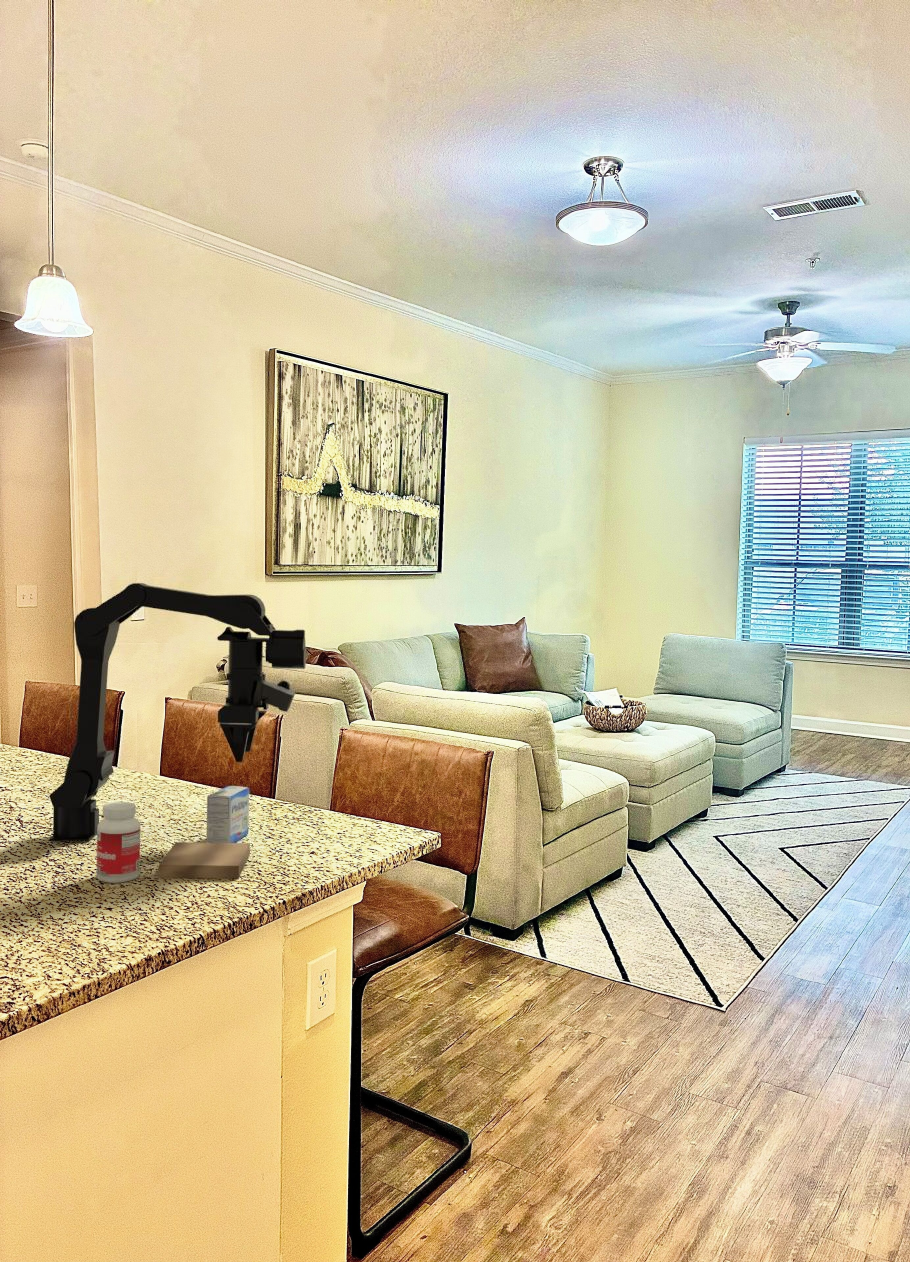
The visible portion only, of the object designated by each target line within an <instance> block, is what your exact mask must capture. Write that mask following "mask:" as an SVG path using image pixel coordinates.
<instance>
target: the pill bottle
mask: <svg viewBox="0 0 910 1262" xmlns="http://www.w3.org/2000/svg"><path fill="white" fill-rule="evenodd" d="M136 807H137V806H136V804H135V803H132V802H129V801H115V802H107V803H106V804H103V806H102V816H103V817H104V818H102V819H101V820H99V824H98V827H97V834H96V877H97V880H99V881H101V882H104V883H108V884H118V883H127V882H130V881H133V880H135V879H137V878H138V877H139V876H140V865H141V863H140V862H141V859H140V858H141V855H140V854H141V822H140V820H139V819H137V817H135V815H136V813H137V809H136Z"/></svg>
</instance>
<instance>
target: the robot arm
mask: <svg viewBox="0 0 910 1262" xmlns="http://www.w3.org/2000/svg"><path fill="white" fill-rule="evenodd" d="M141 608H151V609H155V610H156V609H157V610H163V611H169V612H176V613H182V614H188V615H195V616H202V617H208V618H210V619H213V620H215V621H218V622H221V623H223V624H226V625H229V626H227V627H225V629H224V631H223V632H222V633H221V634H220V635H218V636H217V638H216V639H217V640H218V641H219V642H228V673H226V675H225V676H226V677H225V678H226V679H225V680H226V681H227V683H228V684H227V697H225V704H224V705H223V706H222V707H221V708H219V709H218V710H217V723H218V724H219V726H220V728H221V730H222V733H223V735H224V737H225V739H226V742H227V743H228V746H229V748H230V751H231V753H232V754H233V757H234V760H235V762H236V763H242V762H244V758H245V753H247V752H248V753H250V752H251V751H252V745H253V741H254V738H255V734H256V729H257V725H258V723H259V720H261V718H263V716H265V715H266V713H267V712H268V711H267V710H268V709H269V706H273V707H274V708H277V709H278V710H279V711H282V712H286V713H288V711H289V709H290V708H291V705H292V703H293V700H294V697H295V695H296V691H294V690H292V689H291V683H290V682H289V681H286V680H284V679H282V680H280V681H279V682H278V683H277V684H276V683H275V682H270V681H267V680H266V673H264V671H263V657H264V655H265V662H266V663H268V664H271V668H272V669H292V670H293V669H295V670H299V669H301V670H304V669H306V665H307V664H306V662H307V650H308V649H307V647H306V630H305V629H294V630H293V629H292V630H291V629H290V630H288V629H287V630H285V629H276V628H275V626H274V624H273V623H272V622H271V621H270V619H269V618H268V617H267V615H266V606H265V604H264V602H263V600H262V599H261V598H260V597H259V596H257V595H254V594H220V595H219V594H218V595H216V594H215V595H214V594H206V593H199V592H193V591H187V590H181V589H175V588H167V587H161V586H160V587H159V586H154V585H149V584H146V583H143V582H135V583H134V582H133V583H130V584H128V585H127V586H126V587H125V588H124V589H123V590H121V591H120V592H119V593H117V594H115V595H113V596H111V597H110V598H109V599H107V600H106V601H104V602H101V604H99V605H98V606H96V607H90V608H85V609H83V610H82V611H80V612H79V613H78V614H77V615H76V616H75V619H74V622H73V626H74V628H73V629H74V635H75V637H74V638H75V643H76V644H75V645H76V647H77V650H78V653H79V657H80V677H79V690H78V691H79V693H78V706H77V707H78V709H77V724H76V725H77V726H76V737H75V738H76V739H75V744H74V747H73V748H72V751H71V754H70V755H69V759H68V761H67V765H66V769H65V774H64V778H63V782H62V783H61V784H60V785H59V786H58V787H57V788H56V789H55V790H54V791H53V792H51V793H50V794H49V798H50V803H51V804H52V807H53V812H52V813H53V815H52V816H53V817H52V818H53V820H52V823H53V824H52V825H53V827H52V830H53V831H52V835H51V836H50V837H49V841H50V842H89V841H91V840H92V839H93V838H94V836H97V827H98V824H99V822H100V809H99V807H98V808H97V799H95V798H94V797H96V796H97V794H98V792H99V789H101V788H102V787H103V786H104V785H105V784H106V783H107V782H108V781H109V779H110V776H111V775H112V774H114V771H115V770H114V767H113V761H114V755H115V750H112V749H111V750H107V748H106V746H105V742H104V731H105V719H106V717H105V716H106V715H105V714H106V705H107V704H106V702H107V700H106V699H107V687H108V673H109V672H108V671H109V662H110V657H111V655H112V653H113V650H114V648H115V645H116V642H117V638H118V633H119V631H120V626H121V624H122V623H124V622H125V621H126V620H128V619H129V618H130V617H131V616H133V615H134V614H136V612H137V611H138V610H140V609H141ZM231 626H232V627H235V628H238V629H242V631H241V630H238V631H237V630H234V629H232V627H231ZM248 629H249V630H250V631H243V630H248ZM251 632H253V633H255V634H256V635H257V636H262V637H255V636H254V637H253V636H252V634H251ZM263 636H264V637H263ZM266 636H267V637H266ZM264 643H265V652H264ZM264 653H265V654H264ZM260 708H261V710H260Z"/></svg>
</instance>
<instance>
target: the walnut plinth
mask: <svg viewBox="0 0 910 1262" xmlns="http://www.w3.org/2000/svg"><path fill="white" fill-rule="evenodd" d="M250 848H251V843H248V842H247V843H246V842H236V843H207V842H198V841H197V842H196V841H195V842H193V841H192V842H191V841H189V842H187V841H185V842H183V841H182V842H181V841H176V842H175V843H173V845H172V846H171V848H170V849H169V851H168V852H167V853H166V855H165V856H164V857H163V859H162V860H161V861H160V862H159V864H158V878H159V879H161V878H162V879H167V878H169V879H170V878H171V879H228V880H229V879H230V880H231V879H232V880H233V879H239V878H240V877H241V875H242V872H243V870H244V868H245V865H246V863H247V861H248V859H249V857H250V852H251V851H250V850H251V849H250Z"/></svg>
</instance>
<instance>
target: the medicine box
mask: <svg viewBox="0 0 910 1262" xmlns="http://www.w3.org/2000/svg"><path fill="white" fill-rule="evenodd" d="M249 809H250V788H249V787H247V786H239V785H227V786H225V787H223V788H221V789H219V790H217V791H215V792H212V793H211V794H208V795H207V796H206V843H238V841H240V840H241V839H243V838H245V837H246V836H247V835H249V817H250V816H249V815H250V811H249Z"/></svg>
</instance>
